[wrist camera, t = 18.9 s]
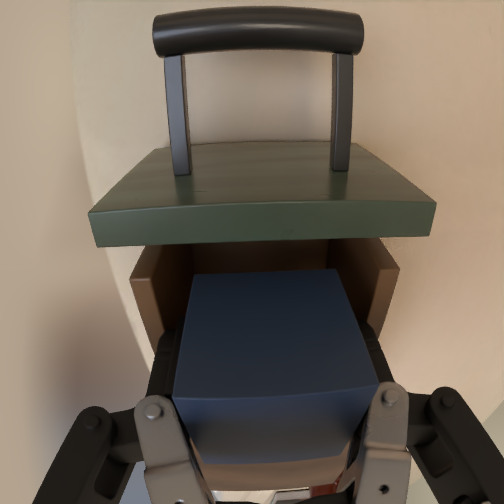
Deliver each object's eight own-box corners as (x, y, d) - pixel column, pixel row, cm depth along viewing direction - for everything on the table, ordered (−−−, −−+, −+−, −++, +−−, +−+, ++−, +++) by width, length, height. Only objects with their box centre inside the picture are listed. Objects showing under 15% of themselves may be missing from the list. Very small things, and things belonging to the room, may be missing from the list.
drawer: (145, 40, 12) (61, 18, 5) (360, 36, 12) (452, 16, 5) (188, 338, 22) (174, 433, 15) (331, 332, 22) (355, 424, 15)
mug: (341, 472, 45) (349, 518, 36) (296, 476, 44) (301, 525, 35) (370, 448, 38) (382, 503, 30) (319, 453, 38) (327, 514, 29)
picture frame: (276, 491, 50) (268, 507, 61) (276, 501, 48) (268, 515, 59) (351, 482, 51) (328, 501, 62) (352, 492, 48) (328, 509, 60)
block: (210, 362, 13) (203, 463, 9) (193, 273, 11) (171, 398, 7) (320, 357, 13) (340, 455, 9) (336, 267, 11) (380, 385, 7)
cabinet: (173, 290, 21) (142, 416, 12) (343, 284, 21) (388, 404, 12) (202, 402, 28) (196, 489, 20) (318, 397, 28) (333, 483, 20)
